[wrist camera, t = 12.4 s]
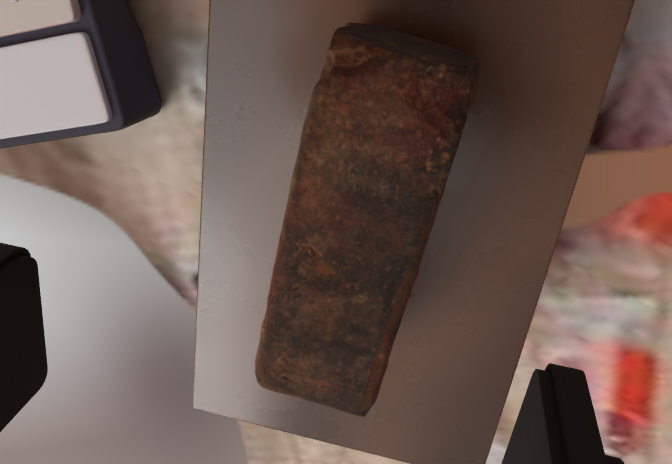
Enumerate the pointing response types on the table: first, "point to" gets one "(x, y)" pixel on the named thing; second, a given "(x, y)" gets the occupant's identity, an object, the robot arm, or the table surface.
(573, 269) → the table surface
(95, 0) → the button pad
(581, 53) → the board
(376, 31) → the brick
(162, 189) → the table surface
